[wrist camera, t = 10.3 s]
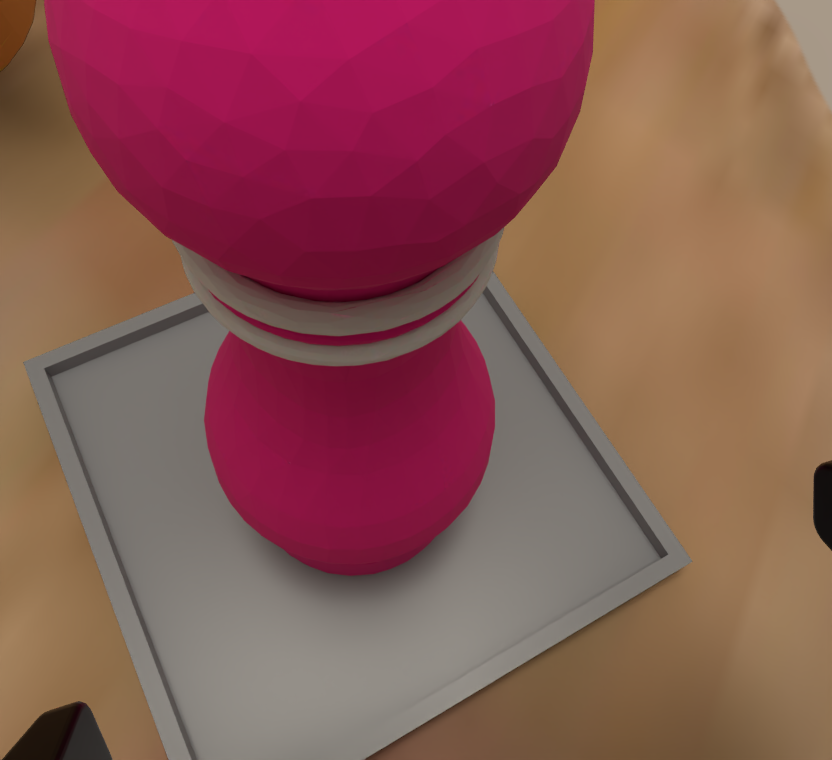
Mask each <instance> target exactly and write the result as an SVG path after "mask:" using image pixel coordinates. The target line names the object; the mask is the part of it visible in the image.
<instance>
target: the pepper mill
mask: <svg viewBox="0 0 832 760" xmlns="http://www.w3.org/2000/svg"><path fill="white" fill-rule="evenodd" d="M44 6H45V14H46V23H47V31H48V40H49V44H50V47H51V50H52V54H53V57H54V60H55V64H56V67H57V70H58V73H59V77H60V80H61V83H62V87H63V90H64V93H65V97H66V100H67V103H68V107H69V110H70V113H71V116H72V118H73V120H74V121H75V123H76V125H77V127H78V129H79V131H80V133H81V135H82V137H83V139H84V141H85V143H86V145H87V147H88V148H89V150H90V152H91V154H92V155H93V157H94V158H95V160H96V161H97V162H98V164H99V165H100V167H101V168H102V170H103V171H104V173H105V174H106V175H107V177H108V178H109V180H110V181H111V183H112V184H113V186H114V187H115V188H116V190H117V191H118V192H119V193H120V194H121V195H122V196H123V197H124V198H125V199H126V200H127V201H128V202H129V203H131V204H132V205H133V206H134V207H135V208H136V209H137V210H138V211H139V212H140V213H141V214H142V215H143V216H145V217H146V218H147V219H148V220H149V221H150V222H151V223H152V224H153V225H154V226H155V227H156V228H157V229H158V230H160V231H161V232H162V233H163V234H164V235H165V236H166V237H168V238H170V239H172V241H173V244H174V245H175V247H176V249H177V250H178V252H179V254H180V255H181V259H182V263H183V267H184V271H185V274H186V276H187V278H188V280H189V282H190V284H191V286H192V288H193V291H194V293H195V294H196V295H197V297H198V298H199V299H200V300H201V302H202V303H203V304H204V306H205V307H206V308H207V310H208V311H209V312H210V314H211V315H212V316H213V317H214V318H215V319H216V320H217V321H219V322H220V323H221V324H222V325H223V326H224V327H225V328H227V329H228V330H229V332H228V334H227V336H226V337H225V339H224V341H223V343H222V344H221V346H220V348H219V350H218V352H217V355H216V357H215V360H214V362H213V365H212V367H211V372H210V376H209V381H208V388H207V397H206V406H205V415H204V424H205V431H206V438H207V445H208V450H209V453H210V456H211V459H212V463H213V466H214V469H215V472H216V475H217V478H218V481H219V484H220V485H221V487H222V489H223V491H224V493H225V495H226V496H227V498H228V500H229V502H230V504H231V505H232V506H233V507H234V508H235V510H236V511H237V512H238V513H239V515H240V516H241V517H242V518H243V520H244V521H245V522H246V523H248V524H249V525H250V526H251V527H252V528H253V529H254V530H256V531H257V532H258V533H259V534H260V535H261V536H263V537H264V538H266V539H268V540H269V541H271V542H272V543H274V544H276V545H277V546H279V547H280V548H282V549H284V550H285V551H286V552H287V553H288V554H289V555H290V556H292V557H294V558H295V559H297V560H299V561H300V562H302V563H304V564H306V565H308V566H309V567H312V568H315V569H318V570H321V571H323V572H326V573H330V574H339V575H347V576H354V575H368V574H376V573H379V572H382V571H386V570H389V569H392V568H394V567H396V566H398V565H400V564H403V563H405V562H407V561H409V560H410V559H411V558H413V557H414V556H415V555H417V554H418V553H419V552H420V551H422V550H423V549H424V548H425V547H426V546H427V545H428V544H429V543H431V541H432V540H433V539H434V538H435V537H436V536H437V535H439V534H440V533H441V532H442V531H444V530H445V529H446V528H447V527H448V526H449V525H450V524H451V523H452V522H453V521H454V520H455V519H456V518H457V517H458V516H459V515H460V514H461V513H462V512H463V510H464V509H465V508H466V507H467V506H468V504H469V503H470V501H471V499H472V498H473V496H474V494H475V492H476V491H477V489H478V487H479V485H480V484H481V482H482V479H483V476H484V474H485V471H486V468H487V465H488V462H489V457H490V451H491V446H492V441H493V435H494V430H495V398H494V394H493V389H492V385H491V381H490V377H489V373H488V369H487V366H486V362H485V359H484V357H483V355H482V353H481V351H480V348H479V346H478V344H477V342H476V340H475V339H474V337H473V336H472V334H471V333H470V331H469V330H468V328H467V327H466V326H465V324H464V323H463V322H462V321H461V319H462V318H463V317H464V316H465V315H466V313H467V312H468V311H469V310H470V309H471V308H472V306H473V305H474V304H475V303H476V301H477V300H478V298H479V297H480V295H481V294H482V293H483V291H484V290H485V288H486V286H487V284H488V282H489V280H490V278H491V275H492V272H493V269H494V266H495V263H496V259H497V253H498V247H499V242H500V239H501V237H502V234H503V231H504V227H505V226H506V225H507V224H508V223H509V222H510V221H511V220H512V219H513V218H515V216H516V215H517V214H518V213H519V212H520V211H521V209H522V208H523V207H524V206H525V205H526V203H527V202H528V201H529V200H530V199H531V198H532V196H533V195H534V194H535V193H536V191H537V190H538V189H539V188H540V186H541V185H542V184H543V183H544V181H545V180H546V179H547V178H548V176H549V175H550V174H551V172H552V171H553V170H554V169H555V167H556V166H557V164H558V161H559V159H560V157H561V154H562V152H563V150H564V148H565V145H566V143H567V141H568V138H569V136H570V134H571V131H572V129H573V127H574V124H575V122H576V120H577V117H578V115H579V113H580V109H581V104H582V100H583V95H584V90H585V86H586V81H587V76H588V72H589V67H590V62H591V58H592V53H593V30H594V0H44Z"/></svg>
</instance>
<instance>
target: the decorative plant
mask: <svg viewBox="0 0 832 760" xmlns="http://www.w3.org/2000/svg"><path fill="white" fill-rule="evenodd" d="M35 4H36V0H0V72H1V71H2V70H3V69H4V68H5V67H6V66H7V65H8V64H9V62H10V61H11V60H12V58H13V57H14V56H15V54H16V53H17V51H18V50H19V49H20V47H21V46H22V45H23V43H24V41H25V39H26V36H27V34H28V32H29V29H30V27H31V25H32V23H33V17H34V11H35Z"/></svg>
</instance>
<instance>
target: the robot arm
mask: <svg viewBox="0 0 832 760" xmlns="http://www.w3.org/2000/svg"><path fill="white" fill-rule="evenodd" d="M813 520H814V525H815V528H816V531H817V533H818V535H819V536H820V538H821V539H822V540H823V542H824V543H825V544H826V545H827V546H828V547H829V548H830V549H831V550H832V460H831V461H828V462H825V463H822V464H820V465H819V466H818V467H817V468H816V470H815V473H814V497H813ZM2 760H112V757H111V754H110V752H109V750H108V748H107V745H106V743H105V741H104V738H103V736H102V734H101V732H100V729H99V727H98V725H97V722H96V720H95V718H94V716H93V713H92V711H91V709H90V708H89V707H88V706H87V704H86V703H83V702H80V701H78V702H74V703H71V704H68V705H65V706H62V707H59V708H56V709H52V710H49V711H47V712H45V713H43V714H42V715H41V716H40V717H39V718H38V719H37V720H36V721H35V722H34V723H33V724H32V726H31V727H30V728H29V729H28V730H27V731H26V732H25V734H24V735H23V736H22V737H21V738H20V739H19V741H18V742H17V743H16V744H15V745H14V746H13V747H12V749H11V750H10V751H9V752H8V753H7V754H6V755H5V757H4V758H3V759H2Z"/></svg>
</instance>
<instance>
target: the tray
mask: <svg viewBox="0 0 832 760" xmlns="http://www.w3.org/2000/svg"><path fill="white" fill-rule="evenodd" d="M461 321H462V322H463V323H464V324H465V326H466V327H467V328H468V330H469V331H470V333H471V334H472V336H473V337H474V339H475V340H476V342H477V344H478V346H479V348H480V351H481V353H482V355H483V357H484V359H485V362H486V366H487V369H488V373H489V377H490V381H491V385H492V389H493V394H494V398H495V430H494V435H493V441H492V446H491V451H490V457H489V462H488V465H487V468H486V471H485V474H484V476H483V479H482V482H481V484H480V485H479V487H478V489H477V491H476V492H475V494H474V496H473V498H472V499H471V501H470V503H469V504H468V506H467V507H466V508H465V509H464V510H463V512H462V513H461V514H460V515H459V516H458V517H457V518H456V519H455V520H454V521H453V522H452V523H451V524H450V525H449V526H448V527H447V528H446V529H445V530H444V531H442V532H441V533H440V534H439V535H437V536H436V537H435V538H434V539H433V540H432V541H431V543H429V544H428V545H427V546H426V547H425V548H424V549H423V550H422V551H420V552H419V553H418V554H417V555H415V556H414V557H413V558H411V559H410V560H409V561H407V562H405V563H403V564H400V565H398V566H396V567H394V568H392V569H389V570H386V571H382V572H379V573H376V574H368V575H354V576H347V575H339V574H330V573H326V572H323V571H321V570H318V569H315V568H312V567H309V566H308V565H306V564H304V563H302V562H300V561H299V560H297V559H295V558H294V557H292V556H290V555H289V554H288V553H287V552H286V551H285V550H284V549H282V548H280V547H279V546H277V545H276V544H274V543H272V542H271V541H269V540H268V539H266V538H264V537H263V536H261V535H260V534H259V533H258V532H257V531H256V530H254V529H253V528H252V527H251V526H250V525H249V524H248V523H246V522H245V521H244V520H243V518H242V517H241V516H240V515H239V513H238V512H237V511H236V510H235V508H234V507H233V506H232V505H231V504H230V502H229V500H228V498H227V496H226V495H225V493H224V491H223V489H222V487H221V485H220V484H219V481H218V478H217V475H216V472H215V469H214V466H213V463H212V459H211V456H210V453H209V450H208V445H207V438H206V431H205V424H204V415H205V406H206V397H207V388H208V381H209V376H210V372H211V367H212V365H213V362H214V360H215V357H216V355H217V352H218V350H219V348H220V346H221V344H222V343H223V341H224V339H225V337H226V336H227V334H228V332H229V330H228V329H227V328H225V327H224V326H223V325H222V324H221V323H220V322H219V321H217V320H216V319H215V318H214V317H213V316H212V315H211V314H210V312H209V311H208V310H207V308H206V307H205V306H204V304H203V303H202V302H201V300H200V299H199V298H198V297H197V295H196V294H195V293H193V294H191V295H188V296H186V297H183V298H181V299H178V300H176V301H173V302H171V303H168V304H166V305H163V306H161V307H158V308H156V309H153V310H151V311H149V312H146V313H144V314H141V315H139V316H136V317H134V318H131V319H129V320H126V321H124V322H121V323H119V324H116V325H114V326H111V327H109V328H106V329H104V330H101V331H99V332H97V333H94V334H92V335H89V336H87V337H84V338H82V339H79V340H77V341H74V342H72V343H69V344H67V345H64V346H62V347H59V348H57V349H54V350H52V351H50V352H47V353H45V354H42V355H40V356H37V357H35V358H32V359H30V360H27V361H25V362H23V363H24V365H25V368H26V371H27V374H28V376H29V379H30V382H31V385H32V387H33V390H34V393H35V396H36V398H37V401H38V404H39V407H40V409H41V412H42V415H43V417H44V420H45V423H46V426H47V428H48V431H49V434H50V437H51V439H52V442H53V445H54V448H55V450H56V453H57V456H58V459H59V461H60V464H61V467H62V470H63V472H64V475H65V478H66V480H67V483H68V486H69V489H70V491H71V494H72V497H73V500H74V502H75V505H76V508H77V511H78V513H79V516H80V519H81V522H82V524H83V527H84V530H85V532H86V535H87V538H88V541H89V543H90V546H91V549H92V552H93V554H94V557H95V560H96V563H97V565H98V568H99V571H100V574H101V576H102V579H103V582H104V584H105V587H106V590H107V593H108V595H109V598H110V601H111V604H112V606H113V609H114V612H115V615H116V617H117V620H118V623H119V626H120V628H121V631H122V634H123V636H124V639H125V642H126V645H127V647H128V650H129V653H130V656H131V658H132V661H133V664H134V667H135V669H136V672H137V675H138V678H139V680H140V683H141V686H142V688H143V691H144V694H145V697H146V699H147V702H148V705H149V708H150V710H151V713H152V716H153V719H154V721H155V724H156V727H157V730H158V732H159V735H160V738H161V740H162V743H163V746H164V749H165V751H166V754H167V757H168V760H364V759H366V758H367V757H369V756H371V755H372V754H374V753H376V752H377V751H379V750H381V749H382V748H384V747H386V746H387V745H389V744H390V743H392V742H394V741H395V740H397V739H399V738H400V737H402V736H404V735H405V734H407V733H409V732H410V731H412V730H414V729H415V728H417V727H419V726H420V725H422V724H424V723H425V722H427V721H429V720H430V719H432V718H434V717H435V716H437V715H439V714H440V713H442V712H444V711H445V710H447V709H449V708H450V707H452V706H454V705H455V704H457V703H459V702H460V701H462V700H464V699H465V698H467V697H468V696H470V695H472V694H473V693H475V692H477V691H478V690H480V689H482V688H483V687H485V686H487V685H488V684H490V683H492V682H493V681H495V680H497V679H498V678H500V677H502V676H503V675H505V674H507V673H508V672H510V671H512V670H513V669H515V668H517V667H518V666H520V665H522V664H523V663H525V662H527V661H528V660H530V659H532V658H533V657H535V656H537V655H538V654H540V653H541V652H543V651H545V650H546V649H548V648H550V647H551V646H553V645H555V644H556V643H558V642H560V641H561V640H563V639H565V638H566V637H568V636H570V635H571V634H573V633H575V632H576V631H578V630H580V629H581V628H583V627H585V626H586V625H588V624H590V623H591V622H593V621H595V620H596V619H598V618H600V617H601V616H603V615H605V614H606V613H608V612H610V611H611V610H613V609H614V608H616V607H618V606H619V605H621V604H623V603H624V602H626V601H628V600H629V599H631V598H633V597H634V596H636V595H638V594H639V593H641V592H643V591H644V590H646V589H648V588H649V587H651V586H653V585H654V584H656V583H658V582H659V581H661V580H663V579H664V578H666V577H668V576H669V575H671V574H673V573H674V572H676V571H678V570H679V569H681V568H683V567H684V566H686V565H687V564H689V563H691V562H692V560H691V559H690V557H689V556H688V554H687V553H686V551H685V550H684V548H683V547H682V545H681V544H680V543H679V541H678V540H677V538H676V537H675V535H674V534H673V532H672V531H671V529H670V528H669V527H668V525H667V524H666V522H665V521H664V519H663V518H662V516H661V515H660V513H659V512H658V511H657V509H656V508H655V506H654V505H653V503H652V502H651V500H650V499H649V497H648V496H647V495H646V493H645V492H644V490H643V489H642V487H641V486H640V484H639V483H638V481H637V480H636V479H635V477H634V476H633V474H632V473H631V471H630V470H629V468H628V467H627V465H626V464H625V463H624V461H623V460H622V458H621V457H620V455H619V454H618V452H617V451H616V449H615V448H614V447H613V445H612V444H611V442H610V441H609V439H608V438H607V436H606V435H605V433H604V432H603V431H602V429H601V428H600V426H599V425H598V423H597V422H596V420H595V419H594V417H593V416H592V415H591V413H590V412H589V410H588V409H587V407H586V406H585V404H584V403H583V401H582V400H581V399H580V397H579V396H578V394H577V393H576V391H575V390H574V388H573V387H572V386H571V384H570V383H569V381H568V380H567V378H566V377H565V375H564V374H563V372H562V371H561V370H560V368H559V367H558V365H557V364H556V362H555V361H554V359H553V358H552V356H551V355H550V354H549V352H548V351H547V349H546V348H545V346H544V345H543V343H542V342H541V340H540V339H539V338H538V336H537V335H536V333H535V332H534V330H533V329H532V327H531V326H530V324H529V323H528V322H527V320H526V319H525V317H524V316H523V314H522V313H521V311H520V310H519V308H518V307H517V306H516V304H515V303H514V301H513V300H512V298H511V297H510V295H509V294H508V292H507V291H506V290H505V288H504V287H503V285H502V284H501V282H500V281H499V279H498V278H497V276H496V275H495V274H494V272H492V275H491V278H490V280H489V282H488V284H487V286H486V288H485V290H484V291H483V293H482V294H481V295H480V297H479V298H478V300H477V301H476V303H475V304H474V305H473V306H472V308H471V309H470V310H469V311H468V312H467V313H466V315H465V316H464V317H463V318H462V319H461Z"/></svg>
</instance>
